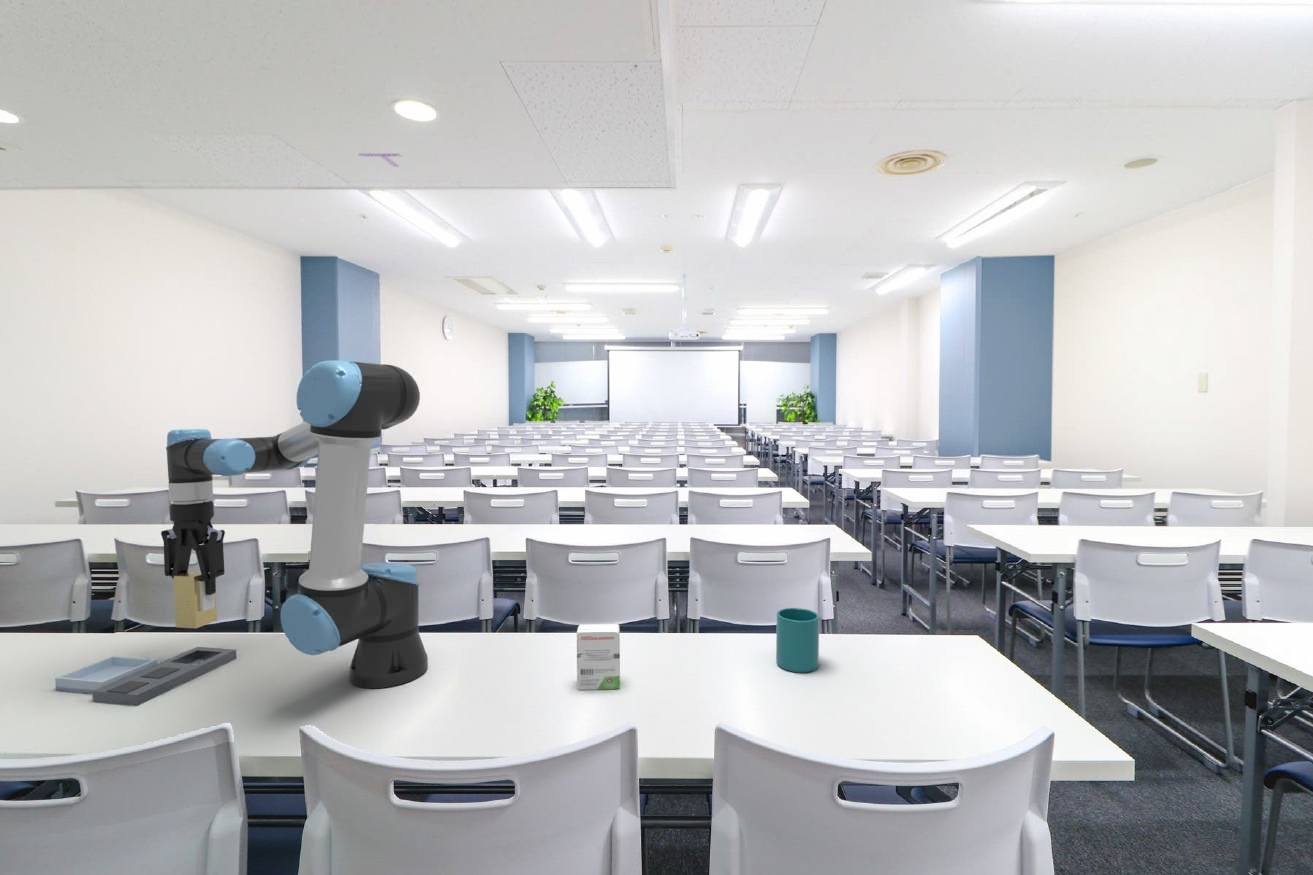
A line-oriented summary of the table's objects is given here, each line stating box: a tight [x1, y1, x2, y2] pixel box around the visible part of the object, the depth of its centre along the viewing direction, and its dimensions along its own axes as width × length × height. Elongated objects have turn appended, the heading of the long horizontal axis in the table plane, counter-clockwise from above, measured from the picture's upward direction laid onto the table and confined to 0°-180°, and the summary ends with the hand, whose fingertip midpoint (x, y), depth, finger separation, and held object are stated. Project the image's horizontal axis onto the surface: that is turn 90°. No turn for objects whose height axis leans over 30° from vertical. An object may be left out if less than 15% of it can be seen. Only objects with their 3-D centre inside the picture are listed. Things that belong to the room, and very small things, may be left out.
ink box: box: [576, 623, 621, 691], centre depth 123 cm, size 9×5×12 cm, turn 93°
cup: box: [775, 607, 820, 674], centre depth 134 cm, size 9×12×11 cm
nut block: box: [173, 569, 218, 629], centre depth 130 cm, size 5×5×11 cm
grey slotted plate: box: [92, 646, 238, 707], centre depth 125 cm, size 10×22×2 cm, turn 171°
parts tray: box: [54, 655, 158, 695], centre depth 124 cm, size 11×11×2 cm
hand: (196, 608), depth 130 cm, fingers closed on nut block, 5 cm apart
